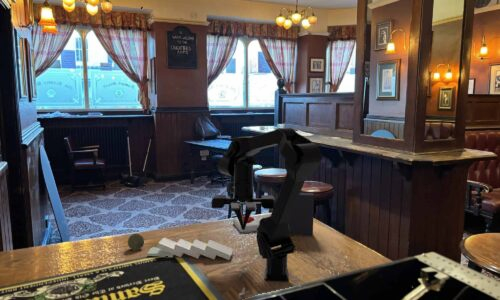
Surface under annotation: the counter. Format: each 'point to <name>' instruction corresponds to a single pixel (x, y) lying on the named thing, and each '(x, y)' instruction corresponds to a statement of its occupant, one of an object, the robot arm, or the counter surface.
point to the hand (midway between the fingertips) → (243, 229)
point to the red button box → (250, 226)
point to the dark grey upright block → (302, 215)
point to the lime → (135, 241)
